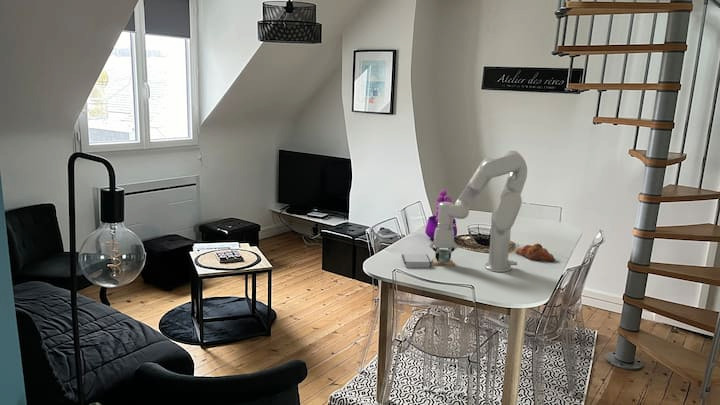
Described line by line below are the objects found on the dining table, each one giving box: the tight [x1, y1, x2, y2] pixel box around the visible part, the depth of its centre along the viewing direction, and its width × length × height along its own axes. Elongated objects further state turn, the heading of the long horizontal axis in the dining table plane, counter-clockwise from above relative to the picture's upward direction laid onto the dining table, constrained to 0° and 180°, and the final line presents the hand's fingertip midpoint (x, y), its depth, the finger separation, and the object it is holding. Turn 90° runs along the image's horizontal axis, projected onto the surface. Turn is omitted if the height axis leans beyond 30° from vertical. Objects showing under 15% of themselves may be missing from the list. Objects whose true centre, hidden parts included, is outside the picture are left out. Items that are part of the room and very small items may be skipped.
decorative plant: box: [424, 189, 458, 240], centre depth 311 cm, size 19×18×30 cm
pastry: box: [515, 243, 556, 263], centre depth 284 cm, size 17×15×8 cm
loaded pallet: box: [431, 248, 455, 267], centre depth 272 cm, size 10×6×7 cm, turn 92°
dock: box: [401, 253, 432, 268], centre depth 272 cm, size 14×12×3 cm
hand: (442, 259), depth 272 cm, fingers closed on loaded pallet, 5 cm apart
